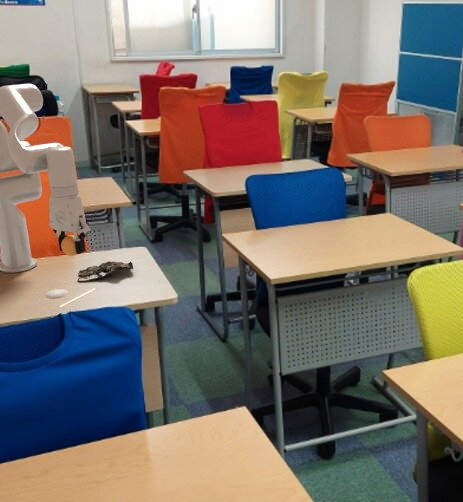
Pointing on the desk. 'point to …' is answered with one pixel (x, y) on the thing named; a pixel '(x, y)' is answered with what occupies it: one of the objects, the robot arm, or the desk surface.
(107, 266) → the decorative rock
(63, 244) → the ball
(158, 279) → the desk surface
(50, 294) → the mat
